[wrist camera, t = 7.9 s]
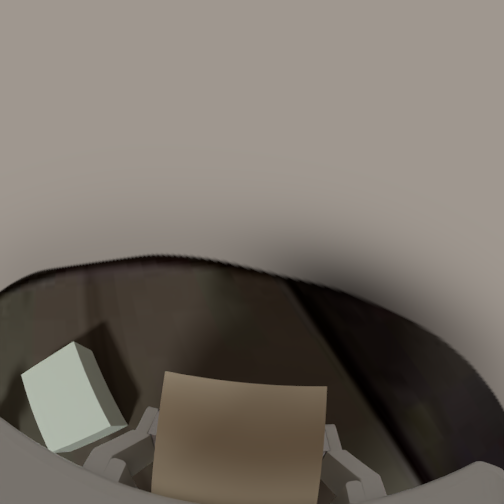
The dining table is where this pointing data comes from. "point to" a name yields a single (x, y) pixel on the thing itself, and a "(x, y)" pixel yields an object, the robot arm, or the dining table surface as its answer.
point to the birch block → (238, 442)
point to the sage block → (71, 399)
